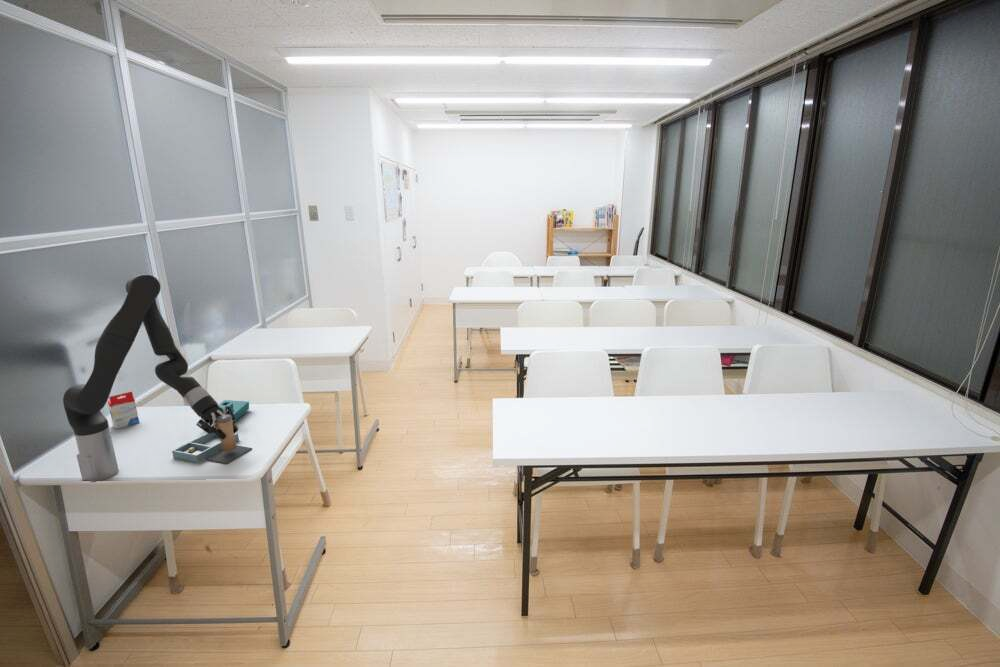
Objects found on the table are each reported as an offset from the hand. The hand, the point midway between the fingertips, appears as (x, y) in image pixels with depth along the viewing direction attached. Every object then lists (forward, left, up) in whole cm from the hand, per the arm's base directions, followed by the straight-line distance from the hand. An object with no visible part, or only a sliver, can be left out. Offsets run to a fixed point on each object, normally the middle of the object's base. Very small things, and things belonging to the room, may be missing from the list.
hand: (230, 434), depth 183 cm
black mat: (0, +2, -8) cm, 9 cm away
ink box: (+7, +66, -9) cm, 67 cm away
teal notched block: (+25, +29, -9) cm, 39 cm away
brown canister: (0, +2, -6) cm, 6 cm away
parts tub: (+1, +14, -8) cm, 16 cm away
